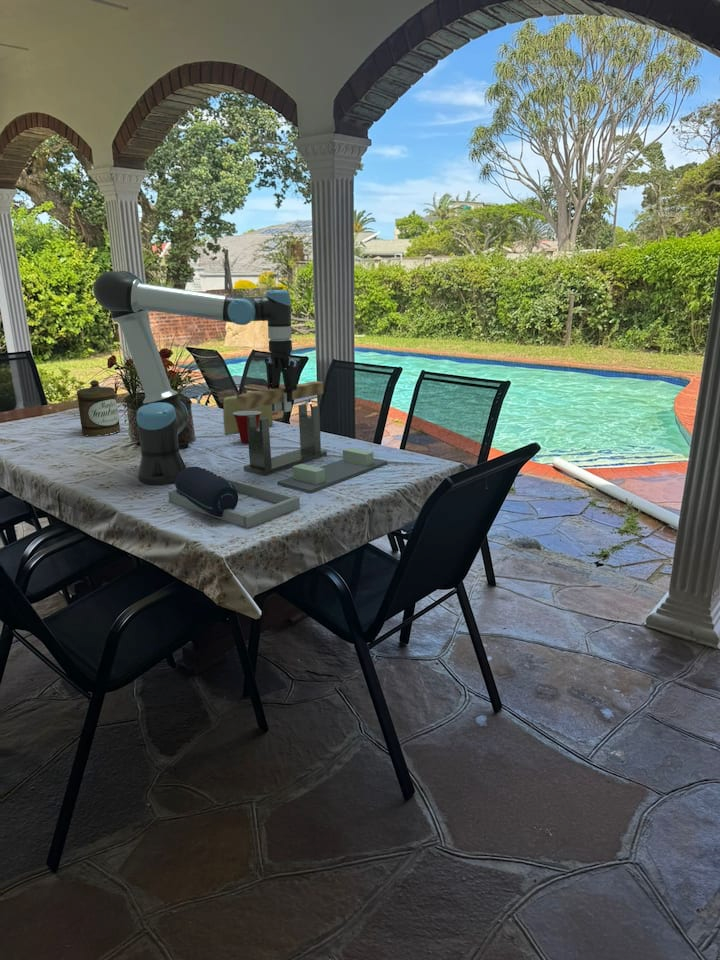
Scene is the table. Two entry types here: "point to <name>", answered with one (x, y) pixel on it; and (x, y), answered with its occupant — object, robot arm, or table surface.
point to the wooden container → (98, 410)
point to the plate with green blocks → (331, 471)
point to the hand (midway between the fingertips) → (283, 410)
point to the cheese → (231, 407)
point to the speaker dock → (248, 520)
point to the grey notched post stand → (307, 452)
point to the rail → (277, 395)
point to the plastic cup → (245, 422)
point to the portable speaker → (206, 490)
